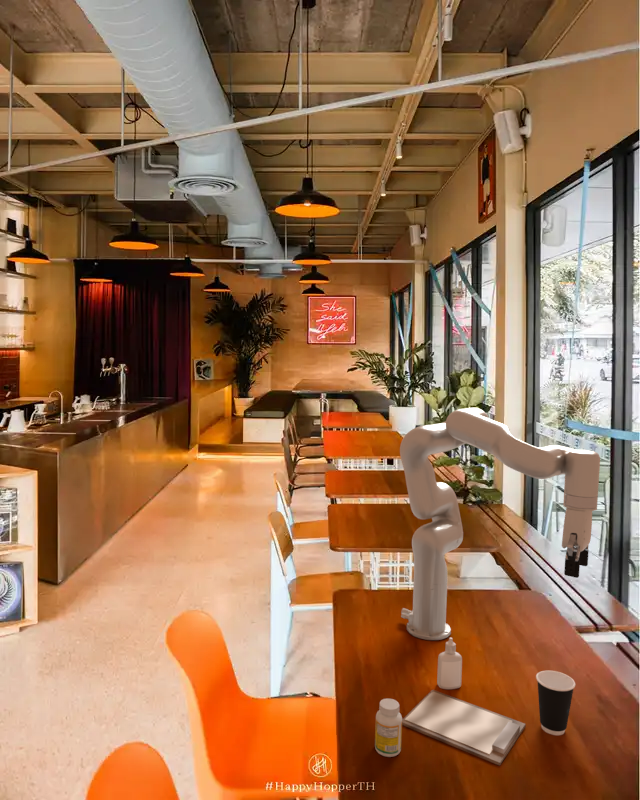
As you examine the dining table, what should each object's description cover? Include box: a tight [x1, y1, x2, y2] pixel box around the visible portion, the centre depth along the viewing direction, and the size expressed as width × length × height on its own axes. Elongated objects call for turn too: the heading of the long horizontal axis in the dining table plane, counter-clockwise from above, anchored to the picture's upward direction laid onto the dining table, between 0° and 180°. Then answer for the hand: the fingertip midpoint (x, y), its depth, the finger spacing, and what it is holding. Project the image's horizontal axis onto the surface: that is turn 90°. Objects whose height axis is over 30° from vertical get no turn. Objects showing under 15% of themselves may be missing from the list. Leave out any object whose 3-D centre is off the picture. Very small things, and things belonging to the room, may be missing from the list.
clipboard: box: [402, 689, 526, 767], centre depth 133 cm, size 22×16×2 cm
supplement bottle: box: [374, 698, 403, 758], centre depth 124 cm, size 5×5×10 cm
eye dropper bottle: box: [436, 637, 463, 690], centre depth 148 cm, size 4×6×12 cm
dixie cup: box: [535, 669, 576, 736], centre depth 132 cm, size 8×8×11 cm
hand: (576, 570), depth 149 cm, fingers open, 9 cm apart
